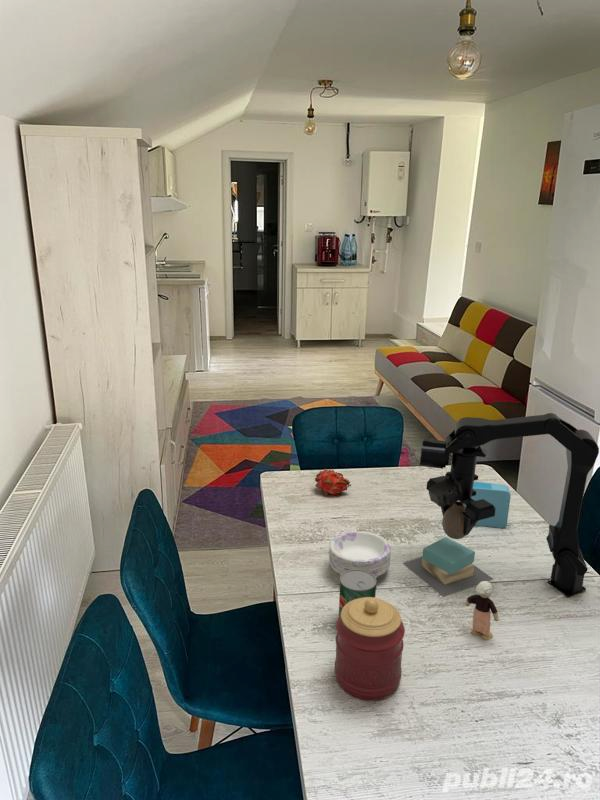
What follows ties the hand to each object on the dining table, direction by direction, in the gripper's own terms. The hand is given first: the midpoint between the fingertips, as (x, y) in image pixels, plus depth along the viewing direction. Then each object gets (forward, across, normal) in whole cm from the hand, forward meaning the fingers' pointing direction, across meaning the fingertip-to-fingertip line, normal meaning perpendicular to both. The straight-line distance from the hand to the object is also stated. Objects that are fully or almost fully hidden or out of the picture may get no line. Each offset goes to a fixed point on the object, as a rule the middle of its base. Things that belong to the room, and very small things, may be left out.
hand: (455, 528), depth 150 cm
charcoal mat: (+12, 0, -1) cm, 12 cm away
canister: (+13, +21, -39) cm, 46 cm away
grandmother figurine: (+12, +21, -10) cm, 26 cm away
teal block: (+9, 0, -1) cm, 9 cm away
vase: (+2, 0, 0) cm, 2 cm away
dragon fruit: (+13, -52, -5) cm, 54 cm away
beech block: (+12, 0, -1) cm, 12 cm away
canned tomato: (+13, +6, -32) cm, 35 cm away
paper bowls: (+13, -10, -21) cm, 27 cm away
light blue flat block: (+12, -15, +26) cm, 32 cm away
